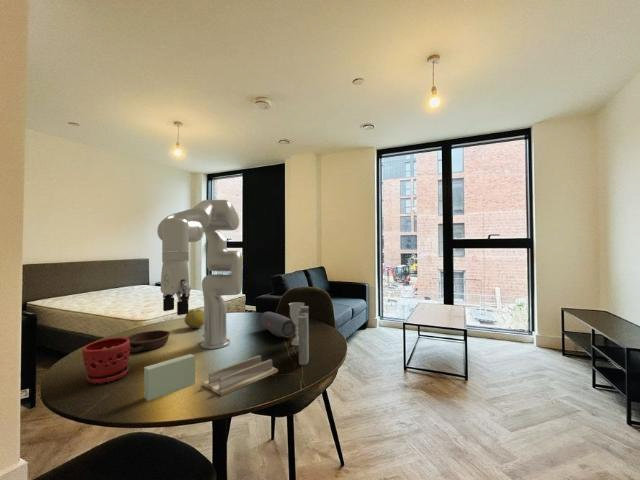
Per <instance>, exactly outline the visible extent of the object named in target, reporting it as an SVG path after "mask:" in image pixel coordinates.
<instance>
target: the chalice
mask: <svg viewBox="0 0 640 480" xmlns="http://www.w3.org/2000/svg"><path fill="white" fill-rule="evenodd" d="M288 305H289V316H290V319H291V320H292V321H293V323H294V324H295V325H296V328H295V329H296V330H295V333H294V334H295V337H294V338H293V339H292V341H291V344H290V345H292V346H299V321H298V317H299V309H300V307H301V306H305V302H300V301H298V302H296V301H295V302H294V301H293V302H290V303H288Z"/></svg>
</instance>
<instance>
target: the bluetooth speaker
mask: <svg viewBox="0 0 640 480" xmlns="http://www.w3.org/2000/svg"><path fill="white" fill-rule="evenodd" d="M259 322H260V325H261V326H262V327H263V328H264V329H265V330H268V331H269V332H270V333H271V334H272V335H274V336H275V337H277V338H290V337H292V336H294V334H295V332H296V329H295V328H296V324H294V323H293V321H292V319H291V318H289V317H286V316H284V315H282V314H278V313H276V312H272V311H265V312H264V313H262V314H261V316H260V318H259Z"/></svg>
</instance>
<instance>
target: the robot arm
mask: <svg viewBox="0 0 640 480" xmlns="http://www.w3.org/2000/svg"><path fill="white" fill-rule="evenodd" d="M239 226H240V218H239V215H238V213H237V211H236V209H235V207H234V205H233V204H232V203H231V202H230V201H229V200H227V199H205V200H201V201H200V202H199V203H197V204H196V205H195V206H194V207H192V208H189V209H185V210H182V211H179V212H175V213H172V214H170V215H167V216H166V217H164V218H163V219H162V220H160V222H159V224H158V226H157V237H158V238H159V240H161V241H162V242H161V243H162V245H161V247H162V248H161V251H162V252H161V255H162V256H161V262H162V264H161V265H162V266H161V277H160V293H162V294H163V295H162V299H163V301H162V304H163V305H162V307H163V309H162V310H163V312H167V311H174V310H175V297H173V296H175V295H176V297H177V300H178V301H176V314H177V316H181V315H186V314H188V312H189V302H190V301H189V300H190V296H191V294H190V293H191V289H192V288H191V286H190V277H189V275H190V274H189V265H188V262H189V261H190V260H189V259H190V258H189V257H190V254H189V253H190V252H189V248H190V247H189V246H190V245H189V244H190V243H195V242H199V241H200V240H202V238H203V237H204V235H205V237H206V241H207V245H206V246H207V249H206V250H207V251H206V268H207V269H208V270H209V271H211V272H230V273H228V274H227V273H225V274H224V273H220V274H219V273H217V274H215V273H214V274H208V275H206V276H204V277H203V278H202V280H201V289H202V296H203V312H204V325H203V333H202V338H203V340H202V341H201V342H200V347H201V348H202V349H207V350H208V349H209V350H216V349H220V348H225V347H227V346H228V345H230V344H231V340H230V339H229V338H227V304H226V301H225V299H224V298H223V297H222V296H238V295H239V294H240V293H241V292H242V290H243V273H244V272H243V269H244V268H243V265H244V264H243V262H244V261H243V256H242V253H241V252H240V251H238V250H227V247H228V246H227V243H228V242H227V241H228V240H227V238H226V236H225V235H224V234H223V233H222V231H236V230H237V229H238V228H239Z"/></svg>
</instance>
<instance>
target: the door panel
mask: <svg viewBox="0 0 640 480" xmlns="http://www.w3.org/2000/svg"><path fill="white" fill-rule="evenodd" d="M143 369H144V371H143V373H144V374H143V377H144V378H143V379H144V381H143V383H144V384H143V388H144V390H143V391H144V392H143V396H144V399H145V400H146V401H147V402H150V401H153V400H155V399H159V398H161V397H163V396H166V395H168V394H169V395H170V394H171V393H174V392H177V391H179V390H183V389H185V388H187V387H190V386H191V387H192V386H193V385H195V384H196V355H194V354H191V353H189V354H185V355H181V356H179V357H174V358H171V359H167V360H165V361H161V362H158V363H155V364H151V365H147V366H144V367H143Z"/></svg>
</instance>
